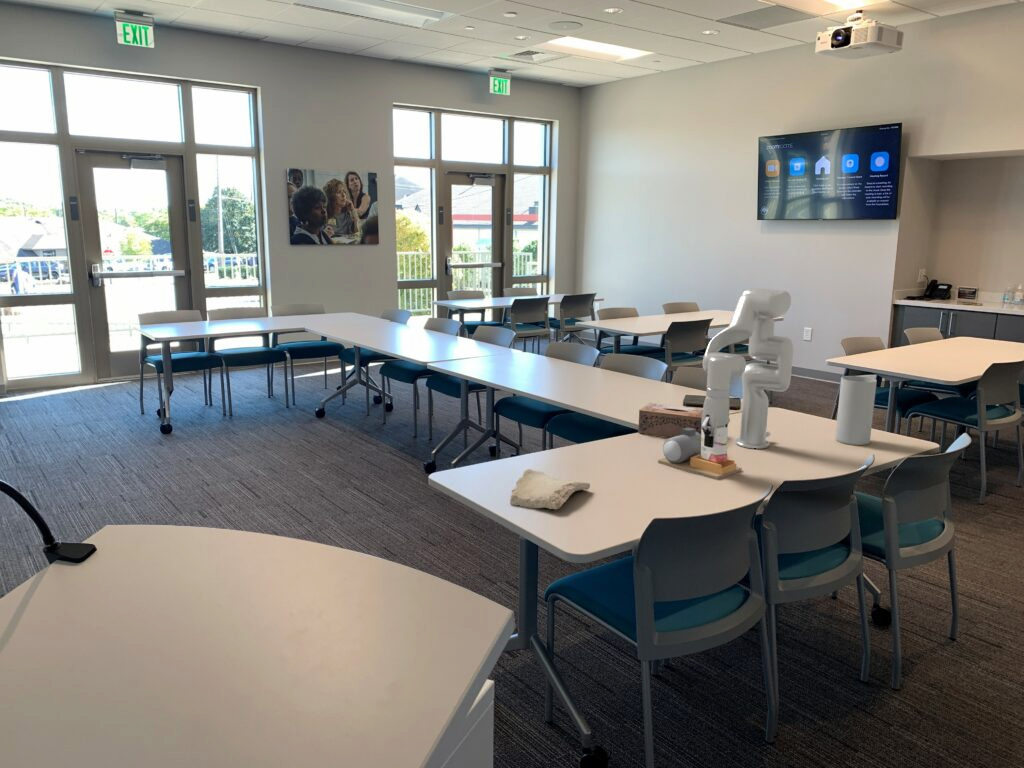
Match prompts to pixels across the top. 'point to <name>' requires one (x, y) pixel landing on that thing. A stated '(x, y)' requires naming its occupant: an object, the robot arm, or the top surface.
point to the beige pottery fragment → (543, 490)
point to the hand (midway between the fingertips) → (714, 444)
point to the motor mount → (694, 456)
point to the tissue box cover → (668, 419)
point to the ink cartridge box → (716, 445)
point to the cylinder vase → (855, 410)
